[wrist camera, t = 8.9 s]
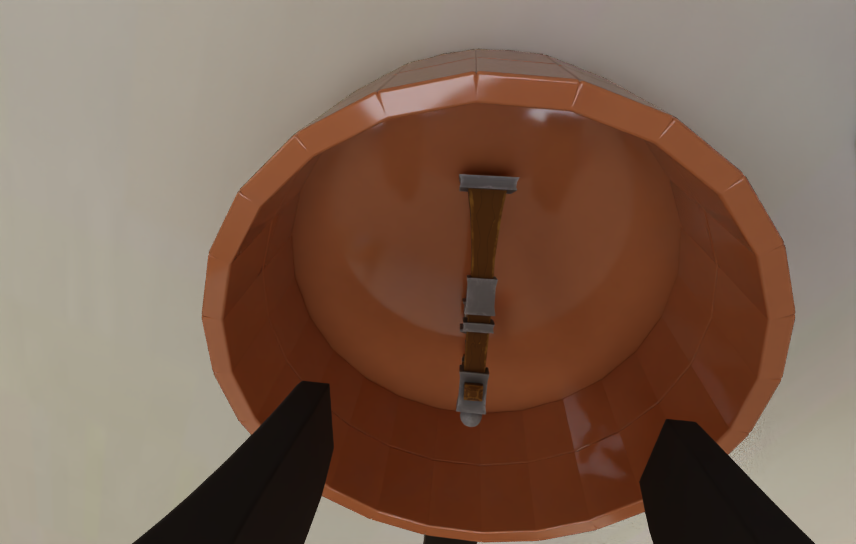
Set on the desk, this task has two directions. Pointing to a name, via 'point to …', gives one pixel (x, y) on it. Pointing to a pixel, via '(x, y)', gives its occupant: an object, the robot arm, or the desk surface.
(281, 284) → the orange brown bowl
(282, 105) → the desk surface
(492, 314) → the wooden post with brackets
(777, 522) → the robot arm
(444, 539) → the handle
